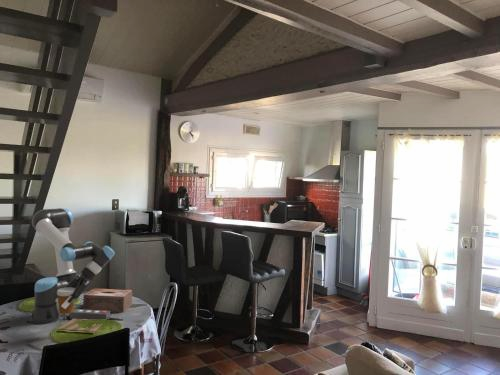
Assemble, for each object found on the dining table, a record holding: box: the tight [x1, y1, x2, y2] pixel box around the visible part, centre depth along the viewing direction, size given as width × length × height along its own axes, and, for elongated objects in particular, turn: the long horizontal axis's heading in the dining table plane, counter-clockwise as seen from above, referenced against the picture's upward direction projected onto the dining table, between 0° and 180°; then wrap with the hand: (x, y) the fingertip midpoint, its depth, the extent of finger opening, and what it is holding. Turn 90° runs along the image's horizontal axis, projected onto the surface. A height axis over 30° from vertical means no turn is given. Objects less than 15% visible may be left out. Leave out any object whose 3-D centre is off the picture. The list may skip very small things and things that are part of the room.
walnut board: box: [57, 319, 102, 332], centre depth 222 cm, size 20×16×2 cm
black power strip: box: [69, 308, 124, 321], centre depth 236 cm, size 31×6×4 cm, turn 85°
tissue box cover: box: [82, 288, 133, 313], centre depth 256 cm, size 26×14×10 cm, turn 86°
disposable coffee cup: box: [57, 287, 75, 315], centre depth 212 cm, size 10×10×12 cm
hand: (60, 305), depth 210 cm, fingers closed on disposable coffee cup, 9 cm apart
